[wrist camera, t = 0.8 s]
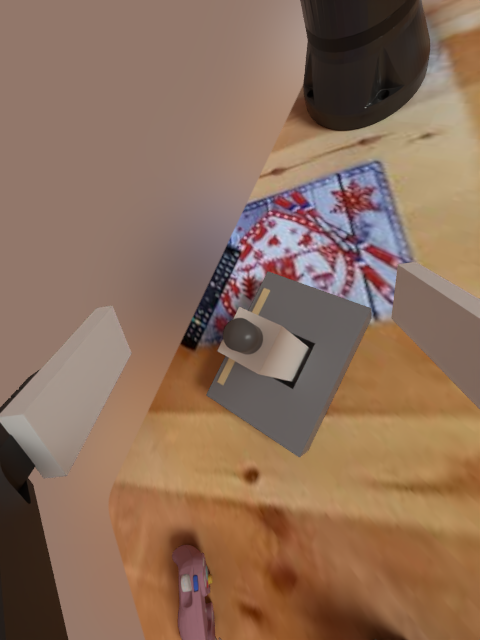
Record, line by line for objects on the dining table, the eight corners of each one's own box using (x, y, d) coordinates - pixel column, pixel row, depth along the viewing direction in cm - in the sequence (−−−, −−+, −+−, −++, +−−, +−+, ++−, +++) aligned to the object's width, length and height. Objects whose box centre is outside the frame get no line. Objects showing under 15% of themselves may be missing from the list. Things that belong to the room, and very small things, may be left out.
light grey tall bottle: (283, 336, 35) (228, 299, 22) (313, 351, 33) (274, 319, 20) (268, 366, 35) (204, 347, 22) (298, 382, 33) (248, 372, 20)
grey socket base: (277, 283, 38) (267, 270, 34) (371, 318, 32) (371, 307, 28) (222, 395, 37) (205, 395, 33) (307, 451, 32) (299, 457, 28)
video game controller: (226, 639, 32) (226, 693, 25) (184, 651, 31) (173, 710, 25) (211, 533, 35) (208, 557, 29) (173, 543, 35) (161, 569, 28)
